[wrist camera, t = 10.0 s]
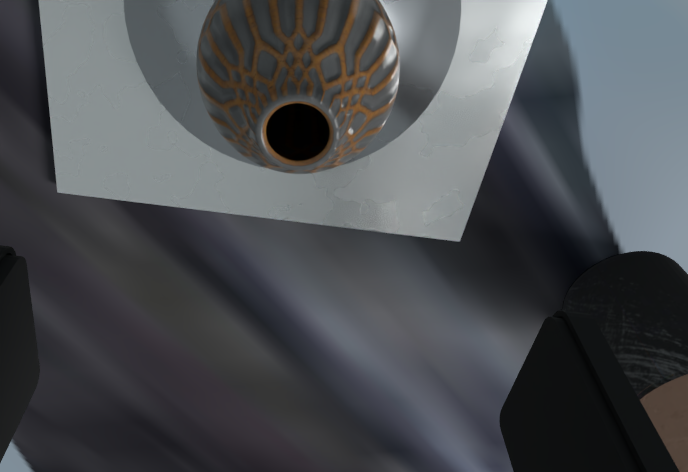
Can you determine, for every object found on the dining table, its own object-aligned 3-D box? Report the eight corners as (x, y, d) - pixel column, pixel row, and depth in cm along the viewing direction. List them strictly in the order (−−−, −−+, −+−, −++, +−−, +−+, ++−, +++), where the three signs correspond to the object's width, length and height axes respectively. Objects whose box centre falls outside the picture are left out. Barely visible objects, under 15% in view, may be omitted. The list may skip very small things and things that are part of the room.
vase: (332, -103, 22) (346, -48, 15) (416, 63, 25) (459, 172, 18) (174, -1, 23) (116, 93, 16) (273, 141, 27) (262, 267, 20)
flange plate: (457, 234, 33) (464, 255, 31) (61, 185, 30) (48, 206, 28) (623, -229, 21) (646, -230, 20) (8, -383, 18) (-17, -397, 17)
